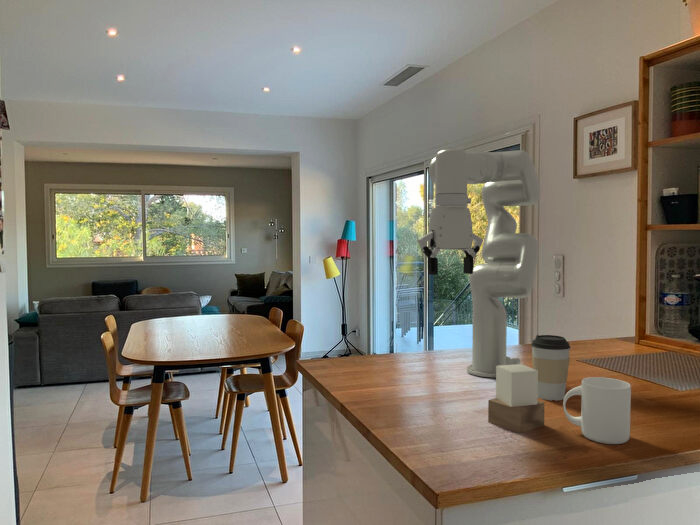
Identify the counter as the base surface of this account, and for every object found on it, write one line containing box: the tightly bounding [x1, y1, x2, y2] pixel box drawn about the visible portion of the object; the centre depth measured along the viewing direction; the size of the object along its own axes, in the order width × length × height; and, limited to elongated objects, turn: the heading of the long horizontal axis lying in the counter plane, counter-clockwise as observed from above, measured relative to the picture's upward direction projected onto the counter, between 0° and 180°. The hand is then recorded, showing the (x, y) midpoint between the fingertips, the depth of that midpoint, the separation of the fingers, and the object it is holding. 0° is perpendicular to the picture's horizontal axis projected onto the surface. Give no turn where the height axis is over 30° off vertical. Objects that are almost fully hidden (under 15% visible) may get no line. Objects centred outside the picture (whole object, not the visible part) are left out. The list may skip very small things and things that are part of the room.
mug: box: [562, 376, 632, 445], centre depth 104 cm, size 9×12×11 cm
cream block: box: [495, 363, 539, 407], centre depth 111 cm, size 6×6×7 cm
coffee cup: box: [530, 334, 571, 401], centre depth 130 cm, size 9×9×15 cm
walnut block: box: [487, 397, 546, 434], centre depth 111 cm, size 8×8×5 cm
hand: (450, 274), depth 127 cm, fingers open, 9 cm apart
